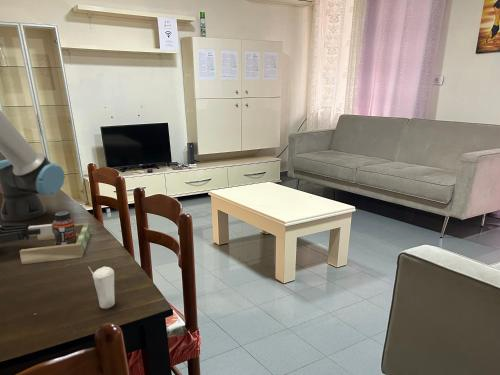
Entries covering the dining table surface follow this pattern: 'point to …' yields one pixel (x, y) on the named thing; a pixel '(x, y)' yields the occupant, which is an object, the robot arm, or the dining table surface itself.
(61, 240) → the supplement bottle
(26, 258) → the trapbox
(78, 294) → the dining table surface
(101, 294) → the milkshake
